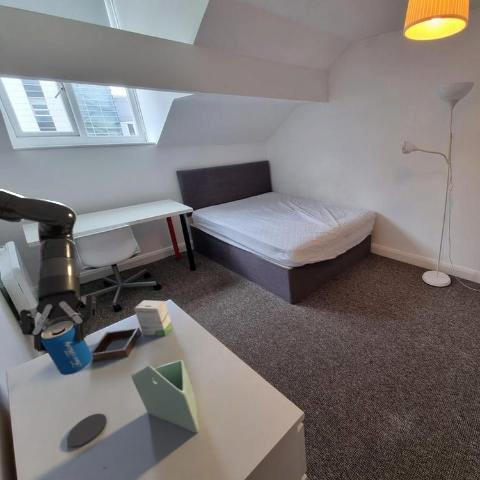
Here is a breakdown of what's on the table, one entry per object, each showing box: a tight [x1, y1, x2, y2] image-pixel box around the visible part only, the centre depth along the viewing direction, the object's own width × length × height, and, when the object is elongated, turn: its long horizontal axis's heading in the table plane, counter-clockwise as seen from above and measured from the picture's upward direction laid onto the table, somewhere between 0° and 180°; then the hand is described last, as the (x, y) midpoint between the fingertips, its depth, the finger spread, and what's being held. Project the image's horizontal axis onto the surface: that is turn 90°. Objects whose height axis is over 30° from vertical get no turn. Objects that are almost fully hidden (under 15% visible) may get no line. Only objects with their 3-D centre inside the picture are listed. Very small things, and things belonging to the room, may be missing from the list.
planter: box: [131, 359, 200, 434], centre depth 67 cm, size 16×8×20 cm, turn 71°
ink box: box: [133, 299, 173, 337], centre depth 95 cm, size 9×5×12 cm, turn 86°
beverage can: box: [41, 320, 93, 376], centre depth 65 cm, size 6×6×12 cm
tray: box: [90, 326, 143, 363], centre depth 90 cm, size 11×11×3 cm
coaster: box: [66, 413, 108, 448], centre depth 66 cm, size 8×8×1 cm
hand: (61, 345), depth 63 cm, fingers closed on beverage can, 6 cm apart
